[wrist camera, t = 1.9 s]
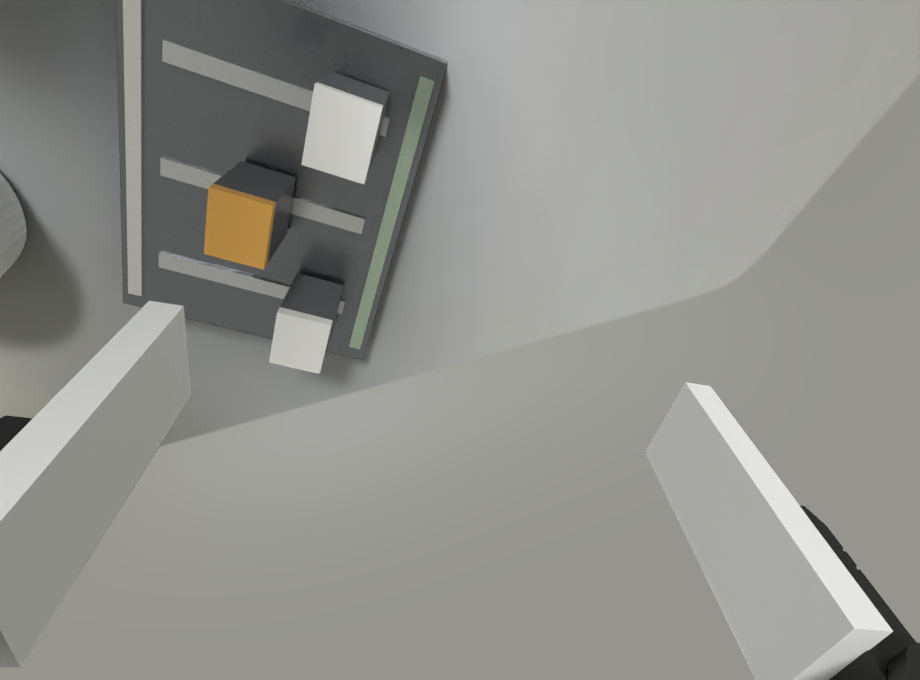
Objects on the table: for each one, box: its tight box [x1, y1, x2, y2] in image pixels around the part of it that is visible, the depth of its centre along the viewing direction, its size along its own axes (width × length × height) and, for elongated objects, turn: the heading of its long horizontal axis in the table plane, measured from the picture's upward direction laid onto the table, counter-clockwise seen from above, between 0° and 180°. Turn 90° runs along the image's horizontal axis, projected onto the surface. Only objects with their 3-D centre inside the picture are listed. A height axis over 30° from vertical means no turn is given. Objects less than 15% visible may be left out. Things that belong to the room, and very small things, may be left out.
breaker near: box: [301, 72, 390, 184], centre depth 25 cm, size 3×4×5 cm
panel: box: [116, 0, 447, 360], centre depth 30 cm, size 16×20×2 cm
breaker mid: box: [204, 161, 296, 270], centre depth 27 cm, size 3×4×5 cm
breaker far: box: [269, 273, 344, 374], centre depth 31 cm, size 3×4×5 cm
